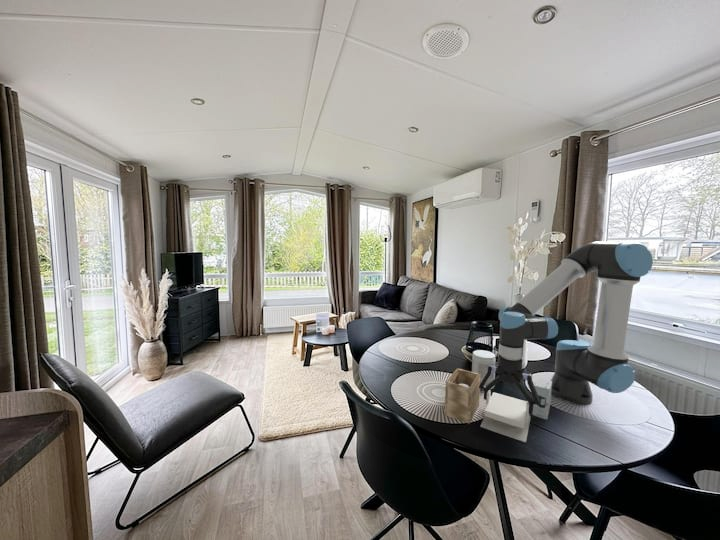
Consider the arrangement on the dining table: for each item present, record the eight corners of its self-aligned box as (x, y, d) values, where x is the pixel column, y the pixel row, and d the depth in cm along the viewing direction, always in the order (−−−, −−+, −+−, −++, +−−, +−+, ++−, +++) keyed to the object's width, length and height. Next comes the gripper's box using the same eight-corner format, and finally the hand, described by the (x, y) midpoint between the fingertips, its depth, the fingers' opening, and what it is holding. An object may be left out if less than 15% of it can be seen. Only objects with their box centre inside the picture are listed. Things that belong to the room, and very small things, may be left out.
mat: (530, 416, 108) (530, 415, 108) (525, 442, 94) (526, 441, 94) (490, 404, 116) (490, 403, 116) (480, 426, 102) (480, 425, 102)
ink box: (535, 405, 116) (537, 376, 114) (550, 409, 112) (552, 380, 111) (531, 415, 109) (534, 385, 108) (547, 420, 106) (549, 389, 105)
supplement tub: (498, 386, 130) (500, 355, 128) (486, 393, 124) (487, 359, 123) (479, 378, 138) (480, 348, 136) (466, 383, 133) (468, 352, 131)
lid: (527, 410, 107) (528, 402, 107) (523, 432, 95) (523, 423, 95) (492, 399, 114) (493, 392, 114) (484, 419, 102) (484, 410, 102)
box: (478, 405, 115) (480, 374, 114) (469, 423, 104) (471, 389, 102) (455, 398, 120) (457, 368, 119) (444, 415, 109) (445, 381, 107)
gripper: (551, 360, 99) (547, 420, 101) (476, 345, 112) (474, 398, 115) (551, 369, 92) (546, 432, 95) (471, 351, 106) (469, 407, 108)
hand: (506, 414), depth 105 cm, fingers closed on lid, 12 cm apart
